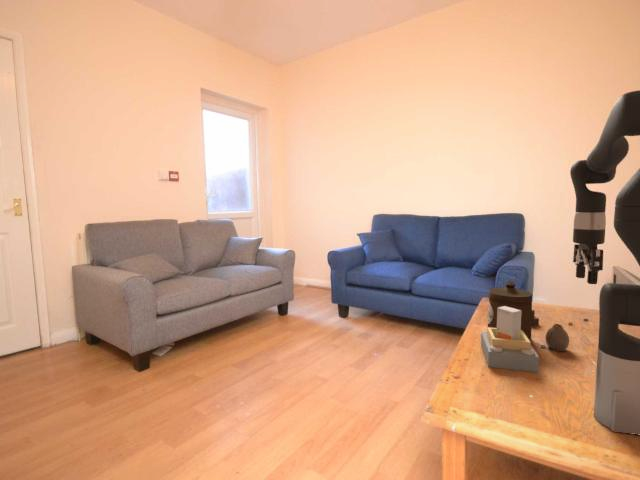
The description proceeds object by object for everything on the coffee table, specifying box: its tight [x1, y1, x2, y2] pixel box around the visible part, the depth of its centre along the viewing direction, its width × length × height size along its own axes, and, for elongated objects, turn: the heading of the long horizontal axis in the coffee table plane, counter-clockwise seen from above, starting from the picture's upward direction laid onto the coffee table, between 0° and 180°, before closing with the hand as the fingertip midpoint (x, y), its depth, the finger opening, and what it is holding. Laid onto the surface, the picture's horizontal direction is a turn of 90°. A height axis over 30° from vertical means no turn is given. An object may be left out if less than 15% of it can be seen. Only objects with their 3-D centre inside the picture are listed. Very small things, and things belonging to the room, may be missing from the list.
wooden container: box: [487, 280, 533, 343], centre depth 132 cm, size 15×15×22 cm
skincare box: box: [496, 306, 522, 340], centre depth 115 cm, size 6×4×12 cm
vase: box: [545, 323, 570, 352], centre depth 121 cm, size 7×7×9 cm
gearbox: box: [480, 326, 540, 373], centre depth 116 cm, size 18×14×8 cm
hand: (585, 280), depth 104 cm, fingers open, 8 cm apart
